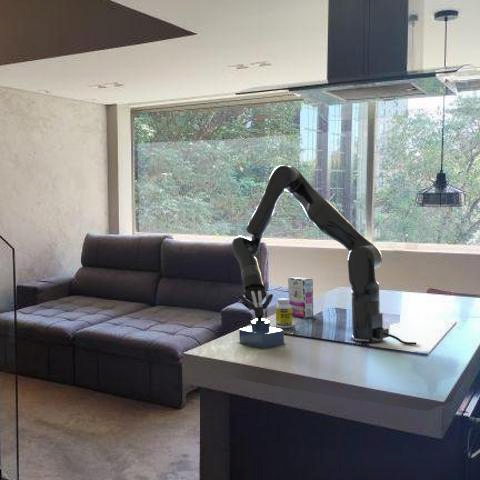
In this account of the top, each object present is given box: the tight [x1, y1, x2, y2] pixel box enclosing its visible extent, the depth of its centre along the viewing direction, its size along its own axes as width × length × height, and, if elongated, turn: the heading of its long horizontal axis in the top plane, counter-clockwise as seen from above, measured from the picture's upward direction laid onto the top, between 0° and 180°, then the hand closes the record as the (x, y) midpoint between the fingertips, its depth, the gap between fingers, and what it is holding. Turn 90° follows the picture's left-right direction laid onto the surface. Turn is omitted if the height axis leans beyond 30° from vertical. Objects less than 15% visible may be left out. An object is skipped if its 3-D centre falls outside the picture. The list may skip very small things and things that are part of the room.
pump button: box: [254, 318, 266, 323], centre depth 213 cm, size 4×4×2 cm
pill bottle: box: [275, 297, 293, 329], centre depth 234 cm, size 6×6×11 cm
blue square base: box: [238, 319, 285, 350], centre depth 209 cm, size 12×11×7 cm
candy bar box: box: [287, 276, 314, 319], centre depth 253 cm, size 11×5×16 cm, turn 24°
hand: (260, 317), depth 213 cm, fingers closed
